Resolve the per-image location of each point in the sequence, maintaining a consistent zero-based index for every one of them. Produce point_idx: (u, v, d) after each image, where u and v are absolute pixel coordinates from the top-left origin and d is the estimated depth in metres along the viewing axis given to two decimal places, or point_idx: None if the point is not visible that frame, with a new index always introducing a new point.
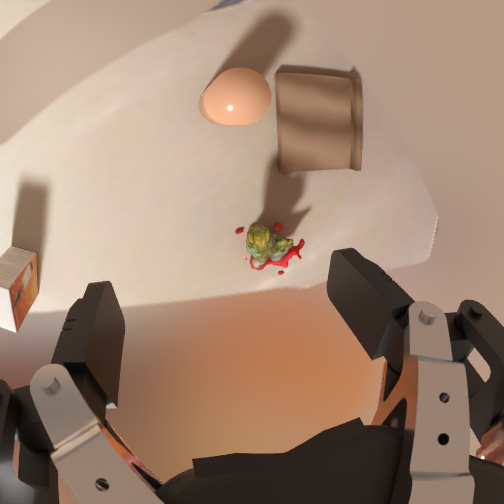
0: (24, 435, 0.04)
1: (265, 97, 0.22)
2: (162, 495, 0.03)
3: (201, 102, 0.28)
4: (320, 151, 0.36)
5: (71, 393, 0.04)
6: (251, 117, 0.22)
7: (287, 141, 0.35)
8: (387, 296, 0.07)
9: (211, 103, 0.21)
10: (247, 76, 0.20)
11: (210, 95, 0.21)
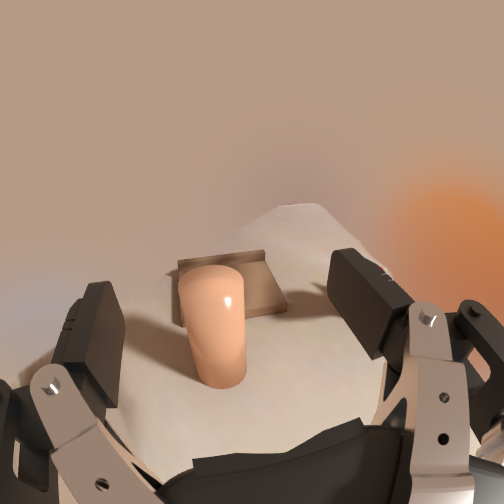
0: (24, 435, 0.04)
1: (210, 268, 0.25)
2: (162, 495, 0.03)
3: (221, 368, 0.24)
4: (256, 281, 0.41)
5: (71, 393, 0.04)
6: (233, 274, 0.24)
7: (253, 304, 0.36)
8: (387, 296, 0.07)
9: (220, 302, 0.21)
10: (188, 280, 0.23)
11: (211, 303, 0.20)
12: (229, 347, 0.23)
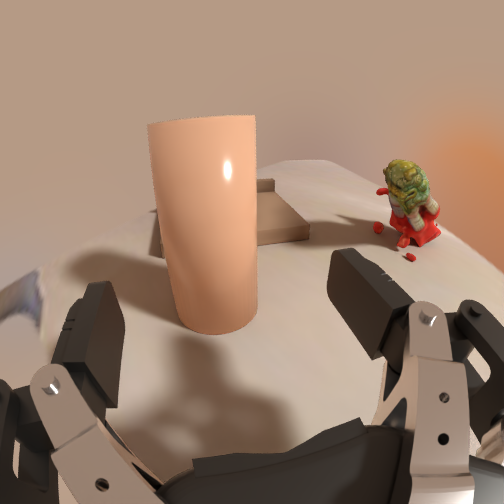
0: (24, 435, 0.04)
1: None
2: (162, 495, 0.03)
3: (214, 283, 0.14)
4: (264, 206, 0.31)
5: (71, 393, 0.04)
6: None
7: (263, 226, 0.26)
8: (387, 296, 0.07)
9: (217, 118, 0.11)
10: (166, 121, 0.13)
11: (199, 119, 0.10)
12: (229, 232, 0.13)
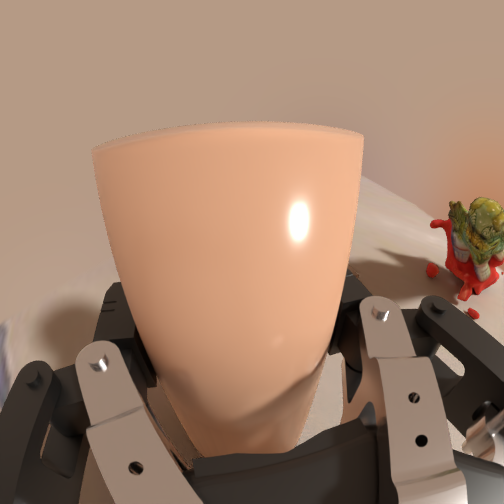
0: (63, 418, 0.04)
1: (223, 122, 0.07)
2: None
3: (253, 442, 0.07)
4: None
5: (124, 366, 0.05)
6: (303, 124, 0.06)
7: None
8: None
9: (298, 143, 0.03)
10: (143, 134, 0.06)
11: (240, 143, 0.03)
12: (292, 390, 0.06)
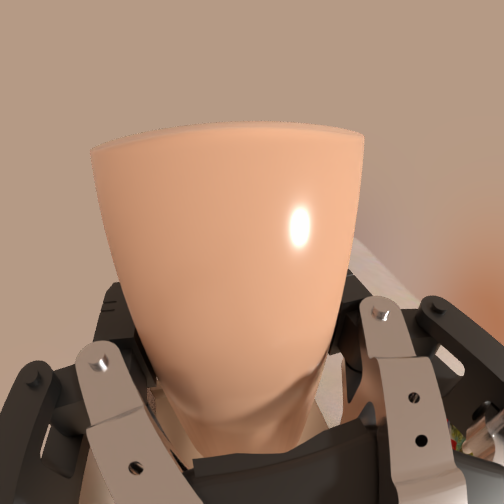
0: (63, 418, 0.04)
1: (223, 122, 0.07)
2: None
3: (254, 443, 0.07)
4: None
5: (124, 366, 0.05)
6: (303, 124, 0.06)
7: None
8: None
9: (298, 143, 0.03)
10: (142, 135, 0.05)
11: (239, 144, 0.03)
12: (292, 391, 0.06)
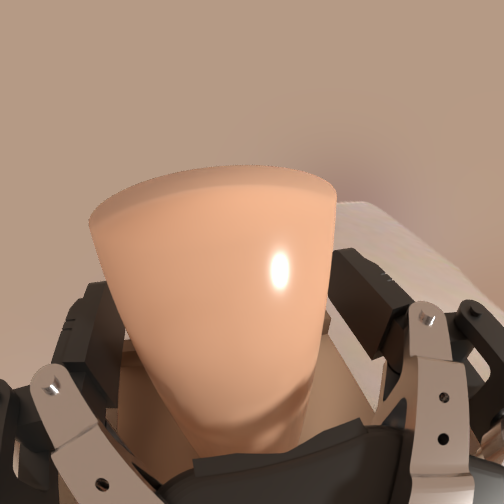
0: (24, 435, 0.04)
1: (211, 170, 0.08)
2: (162, 495, 0.03)
3: None
4: (319, 406, 0.13)
5: (71, 393, 0.04)
6: (286, 173, 0.07)
7: None
8: (387, 296, 0.07)
9: (262, 236, 0.04)
10: (135, 194, 0.06)
11: (209, 243, 0.04)
12: (278, 415, 0.07)
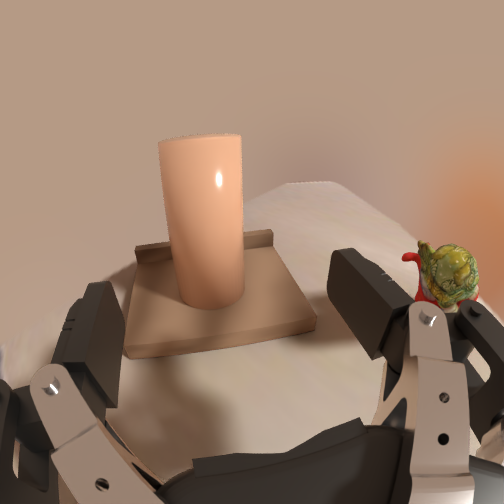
0: (24, 435, 0.04)
1: None
2: (162, 495, 0.03)
3: (207, 266, 0.19)
4: (259, 278, 0.24)
5: (71, 393, 0.04)
6: (229, 134, 0.18)
7: (256, 319, 0.19)
8: (387, 296, 0.07)
9: (209, 141, 0.15)
10: (172, 139, 0.17)
11: (196, 142, 0.15)
12: (219, 226, 0.17)
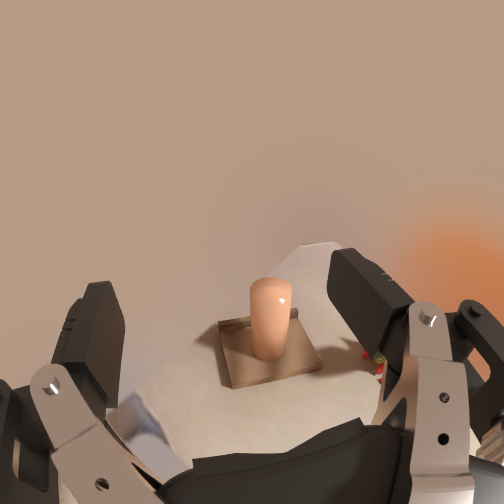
0: (24, 435, 0.04)
1: (268, 279, 0.38)
2: (162, 495, 0.03)
3: (272, 345, 0.38)
4: (292, 341, 0.43)
5: (71, 393, 0.04)
6: (284, 283, 0.37)
7: (293, 366, 0.39)
8: (387, 296, 0.07)
9: (280, 301, 0.34)
10: (256, 288, 0.36)
11: (274, 302, 0.34)
12: (280, 330, 0.37)
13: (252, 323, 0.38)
